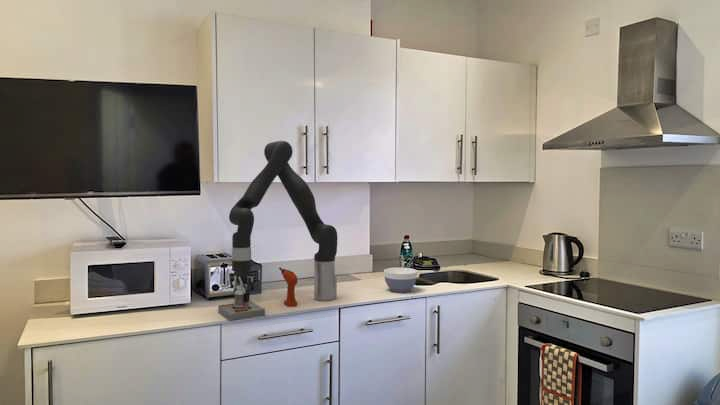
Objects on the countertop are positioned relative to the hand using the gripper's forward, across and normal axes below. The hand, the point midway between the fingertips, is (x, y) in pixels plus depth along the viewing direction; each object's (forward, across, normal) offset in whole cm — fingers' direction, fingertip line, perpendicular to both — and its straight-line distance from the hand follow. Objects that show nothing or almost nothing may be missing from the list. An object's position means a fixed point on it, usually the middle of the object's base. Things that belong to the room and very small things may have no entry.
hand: (241, 300), depth 200 cm
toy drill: (+6, +1, -24) cm, 25 cm away
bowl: (+5, -22, -76) cm, 79 cm away
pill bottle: (+4, 0, 0) cm, 4 cm away
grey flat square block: (+5, 0, 0) cm, 5 cm away
